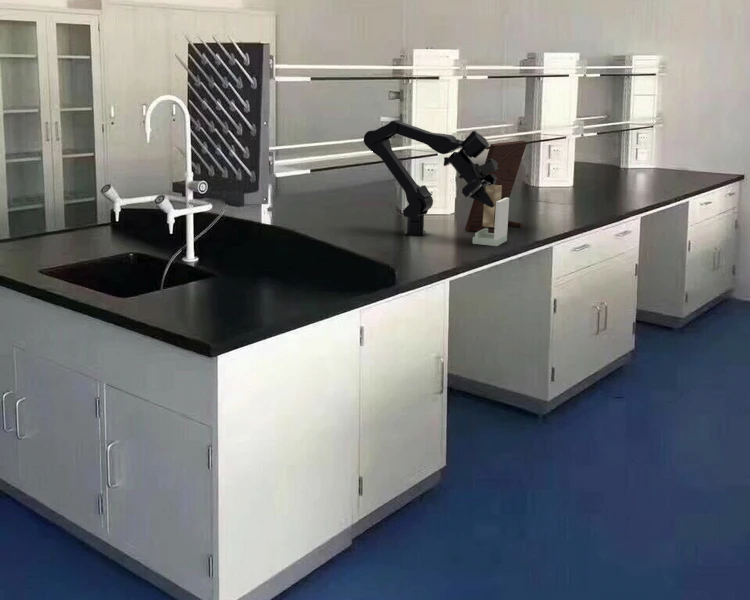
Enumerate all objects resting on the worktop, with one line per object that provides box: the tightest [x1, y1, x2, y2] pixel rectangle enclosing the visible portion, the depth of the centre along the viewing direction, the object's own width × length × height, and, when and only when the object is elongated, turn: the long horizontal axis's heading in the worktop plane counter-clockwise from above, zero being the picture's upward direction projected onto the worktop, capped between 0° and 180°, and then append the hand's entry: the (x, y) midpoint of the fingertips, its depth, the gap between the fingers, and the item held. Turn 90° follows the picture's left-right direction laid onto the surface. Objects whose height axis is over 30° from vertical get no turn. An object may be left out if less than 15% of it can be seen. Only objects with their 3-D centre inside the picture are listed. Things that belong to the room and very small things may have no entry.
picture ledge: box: [472, 197, 510, 247], centre depth 289 cm, size 8×10×14 cm
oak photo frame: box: [483, 185, 502, 228], centre depth 287 cm, size 4×6×12 cm, turn 155°
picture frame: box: [464, 139, 528, 233], centre depth 309 cm, size 21×11×30 cm, turn 141°
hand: (496, 205), depth 287 cm, fingers closed on oak photo frame, 6 cm apart
